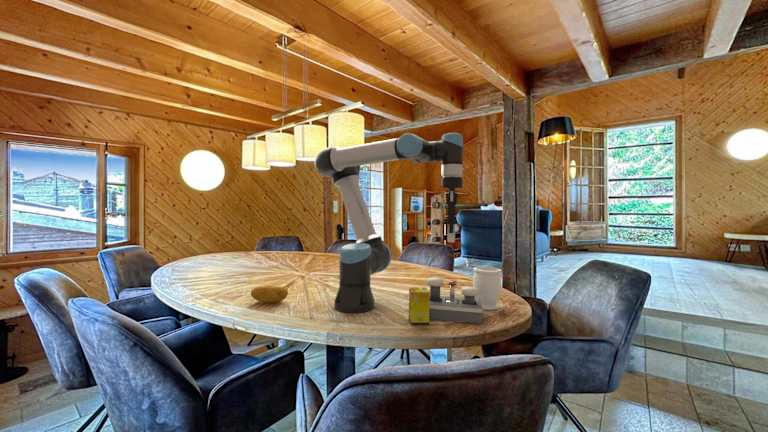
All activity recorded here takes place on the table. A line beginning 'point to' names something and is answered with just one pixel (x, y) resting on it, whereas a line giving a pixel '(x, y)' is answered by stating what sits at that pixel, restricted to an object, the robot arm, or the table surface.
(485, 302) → the white tapered cup
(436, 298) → the knob left
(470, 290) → the knob right
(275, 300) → the potato
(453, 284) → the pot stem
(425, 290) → the supplement box
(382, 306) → the table surface
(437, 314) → the mount
